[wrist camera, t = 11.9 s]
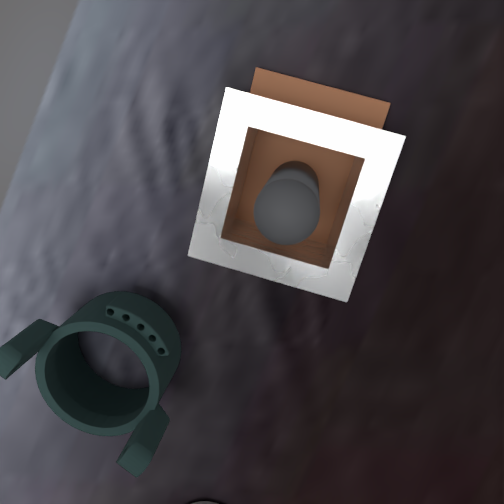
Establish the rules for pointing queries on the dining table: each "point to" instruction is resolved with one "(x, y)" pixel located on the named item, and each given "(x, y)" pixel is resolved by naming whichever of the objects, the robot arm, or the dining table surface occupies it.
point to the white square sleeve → (308, 251)
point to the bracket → (93, 386)
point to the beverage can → (204, 502)
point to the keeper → (300, 163)
